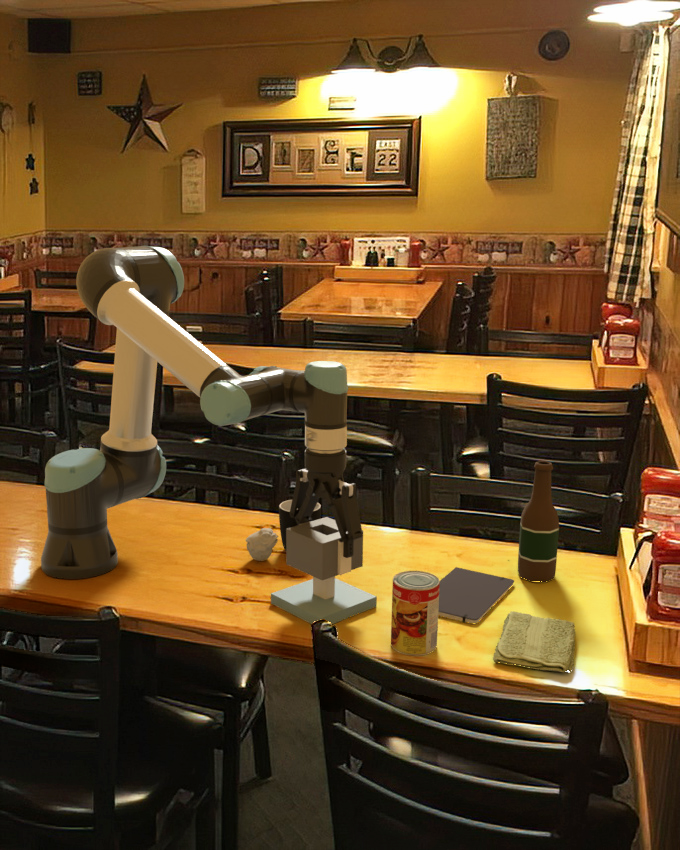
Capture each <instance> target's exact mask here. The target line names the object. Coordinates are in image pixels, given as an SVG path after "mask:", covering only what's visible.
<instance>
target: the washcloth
mask: <svg viewBox="0 0 680 850" xmlns="http://www.w3.org/2000/svg"><path fill="white" fill-rule="evenodd" d="M506 615H507V616H506V618H505V620H504V622H503V626H502V632H501V635H500V638H499V641H498V642H497V645H495V649H494V650H495V651H494V653H493V657H492V659H493V662H494V663H497V662H500V663H507V664H513V665H512V666H514V664H516V665H521V666H520V667H522V666H525V667H524V668H527V667H530V668H529V669H532V668H533V669H535V670H539V669H540V671H554V672H561V673H566V672H565V671H567V670H569V671H570V672H571V670H573V669H574V666H575V664H574V657H575V643H576V642H575V638H576V628H575V627H576V626H575V623H574V621H569V620H566V619H560V618H558V619H556V618H551V617H546V618H545V617H544V618H543V617H539V616H533V615H532V614H530V613H522V612H518V611H510V613H508V614H506ZM507 664H506V665H507ZM571 673H572V672H571Z"/></svg>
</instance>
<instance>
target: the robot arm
mask: <svg viewBox="0 0 680 850" xmlns="http://www.w3.org/2000/svg"><path fill="white" fill-rule="evenodd" d="M184 275H185V274H184V272H183V268H182V266H181V264H180V262H179V261H177V257H176V256H175V255H174V254H173V253H172V252H171V251H169V250H168V249H167V248H164V247H161V246H151V245H150V246H148V245H141V246H139V245H138V246H127V247H106V248H105V247H104V248H100V249H97V250H95V251H93V252H91V253H90V254H89V255H87V256H86V257H85V259H83V261H82V262H81V264H80V265H79V268H78V270H77V274H76V279H75V280H76V284H75V285H76V289H77V294H78V297H79V299H80V300H81V303H82V304H83V306H85V308H86V310H88V311H89V312H90V313H91V314H92V316H94V318H96V319H97V320H99V321H100V322H101V323H102V324H104V325H107V326H114V327H116V335H115V336H116V337H115V347H114V348H115V349H114V359H113V360H114V361H113V376H112V388H111V402H110V403H111V404H110V416H109V429H108V430H107V431H105V432H104V433H103V434H102V435H101V437H100V448H99V449H97V448H94V447H93V448H90V447H81V448H76V449H70V450H65V451H62V452H60V453H58V454H55V455H54V456H52V457H51V458H50V459H49V460H48V461H47V462H46V464H45V468H44V477H45V478H44V488H45V495H46V496H45V497H46V514H47V528H48V529H47V531H48V532H47V536H46V539H45V543H44V546H43V550H42V553H41V557H40V564H41V565H40V566H41V570H42V572H43V574H45V575H47V576H49V575H50V576H49V577H52V576H53V577H52V578H56V577H57V578H56V579H62V578H64V580H66V579H67V580H76V579H77V580H80V579H86V578H87V579H88V578H92V577H93V578H94V577H97V576H100V575H104V574H106V573H108V572H111V571H112V570H114V569H115V568H116V567H117V566H118V564H119V560H118V559H119V557H118V549H117V546H116V545H115V542H114V540H113V538H112V534H111V532H110V529H109V527H108V526H109V525H108V509H110V508H113V507H115V506H119V505H121V504H124V503H125V504H126V503H127V502H130V501H133V500H138V499H141V498H144V497H146V496H148V495H150V494H151V493H154V492H155V491H157V490H158V489H159V488H160V487H161V485H162V484H163V483H164V479H165V476H166V473H167V461H166V458H165V456H163V454H164V452H163V449H162V448H161V447H160V446H159V445H158V439H157V438H156V437H155V436H154V435H153V434H152V426H153V425H152V423H153V414H154V413H153V412H154V403H155V390H156V380H157V370H158V368H157V367H158V365H161V366H162V367H163V368H164V369H166V371H167V372H169V373H170V374H171V375H173V376H174V377H175V378H176V379H177V380H178V381H179V382H180V383H181V384H183V385H184V386H186V388H188V389H189V390H190V391H192V392H193V393H194V394H195V395H196V396H197V397H199V399H200V400H199V403H200V404H199V405H200V408H201V412H203V414H204V417H205V418H206V420H207V421H208V422H210V423H211V424H213V425H215V426H219V427H220V426H221V427H222V426H229V425H236V424H240V423H243V422H245V421H248V420H251V419H253V418H257V417H261V416H265V415H269V414H271V413H275V412H278V411H291V412H294V413H304V446H305V447H306V448H305V450H304V468H302V469H298V470H296V471H295V487H294V491H293V494H292V499H291V500H292V504H291V508H290V517H291V518H293V517H294V518H295V519H296V522H297V523H298V525H301V524H304V523H308V522H307V521H308V520H312V519H310V518H311V515H312V513H313V511H314V509H315V507H316V504H317V502H318V503H319V500H320V498H321V499H323V500H324V501H325V502H326V504H327V506H329V507H330V510H331V514H332V517H333V519H334V520H335V522H336V524H337V527H338V530H339V533H340V536H341V539H340V540H338V574H339V576H342V575H345V574H348V573H351V572H352V570H351V557H352V556H353V548H354V540H355V539H358V538H361V537H362V536H363V537H364V532H363V533H362V530H363V529H362V523H361V518H360V512H359V511H360V510H359V507H358V501H357V485H356V483H354V482H352V483H347V482H345V480H344V476H343V474H344V472H345V470H346V468H347V450H346V447H347V445H348V442H347V441H348V440H347V439H348V435H347V433H348V432H347V431H348V425H347V424H348V423H347V421H348V420H347V411H348V410H347V409H348V391H349V385H348V370H347V367H346V366H345V364H343V363H341V362H339V361H326V360H318V361H311V362H308V363H307V364H306V365H305V367H304V368H305V369H304V370H297V369H291V368H285V367H279V366H278V367H277V366H276V365H271V366H265V365H260V366H257V367H255V368H254V369H253V371H252V372H250V373H249V374H247V375H241V374H239V372H237V371H236V370H235V369H233V368H232V367H230V366H229V365H228V364H227V363H226V362H224V361H223V360H222V359H221V358H220V357H218V356H217V355H216V354H215V353H214V352H212V351H211V350H210V349H208V348H207V347H206V346H205V345H204V344H202V342H200V341H199V340H197V339H196V338H195V337H194V336H193V335H192V334H190V333H189V332H188V331H186V330H185V329H184V328H183V327H182V326H180V325H179V324H178V323H177V322H176V321H174V319H172V318H171V317H170V311H171V304H174V303H175V302H177V301H178V300H179V298H181V296H182V294H183V292H184V288H185V276H184ZM158 363H159V364H158ZM297 508H298V510H297ZM346 532H347V534H346ZM65 578H66V579H65Z"/></svg>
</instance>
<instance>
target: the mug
mask: <svg viewBox="0 0 680 850" xmlns="http://www.w3.org/2000/svg"><path fill="white" fill-rule="evenodd" d="M291 504H292V499H288V500H285V501H282V502H281V503H280V504H279V505H278V520H279V529H280V530H279V531H280V536H281V537H280V538H281V539H280V540H281V543H282V547H283V549H284V551H285V552H286V529H287V528H291V527H294V526H297V525H298V523H297V522H296V519H295V518H294V517H293V518H291V517H290V508H291ZM321 506H322V505H321V504H320V503H319V501H318V502H317V504H316V507H315V509H314V511H313V513H312V515H311V518H310V519H312V520H308V521H307V522H311V521H314V520H318V519H321V517H322V515H321V514H322V507H321ZM297 510H298V508H297Z"/></svg>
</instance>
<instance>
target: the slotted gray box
mask: <svg viewBox="0 0 680 850" xmlns="http://www.w3.org/2000/svg"><path fill="white" fill-rule="evenodd" d="M362 533H363V534H364V530H363V529H362ZM346 534H347V532H346ZM340 539H341V536H340V533H339V530H338V527H337V524H336V522H335V519H334V518H330V517H328V516H326V517H322V518H321V519H318V520H314V521H311V522H308V523H304V524H301V525H297V526H294V527H291V528H287V529H286V551H285V553H286V555H285V559H286V561H285V562H286V565H287V566H289V567H292V568H293V569H296V570H298V571H300V572H302V573H305V574H307V575H309V576H312V578H313V577H315V578H318V579H320V580H325V579H328V578H331V577H334V576H335V577H336V576H338V575H339V574H338V540H340ZM363 553H364V535H363V536H362V537H361V538H358V539H355V540H354V548H353V556H352V557H351V571H353V570H356V569H359V568H362V567H364V565H363V563H364V559H363V558H364V557H363V555H364V554H363ZM339 576H340V575H339Z"/></svg>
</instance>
